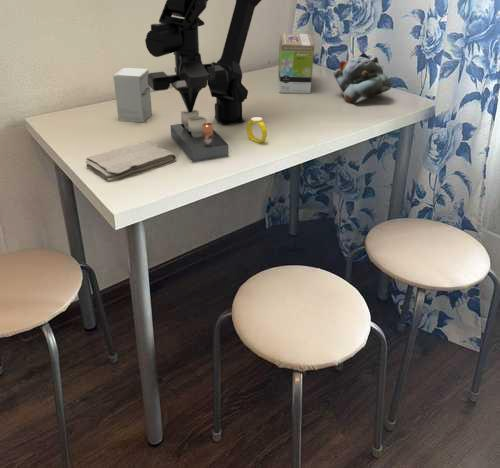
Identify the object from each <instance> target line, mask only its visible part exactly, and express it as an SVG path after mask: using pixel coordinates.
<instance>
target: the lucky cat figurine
mask: <svg viewBox="0 0 500 468" xmlns="http://www.w3.org/2000/svg"><path fill="white" fill-rule="evenodd" d="M333 77H334V79H335V81H336V83H337V84H338V87H339V88H340V90H341V92H342V94H343V96H344V97H343V98H344V100H345V102H346V103H348V104H351V105H356V104H357V103H360V102H363V101H365V100H367V99H369V98H372V97H375V96H379V95H381V94H383V93H385V92H387V91H390V90H391V89H392V83H391V80H390V77H388V76H387V75H385V74H384V72H383V68H382V66H381V65H380V63H379V58H378V57H377V56H372V57H369V56H368V55H367V53H364V52H363V53H361V54H360V55H359V56H355V57H353V58H351V59H349V60H348V61H345V60H342V61H339V65H338V67H337V68H336V70H334V72H333Z"/></svg>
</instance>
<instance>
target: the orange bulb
mask: <svg viewBox="0 0 500 468" xmlns="http://www.w3.org/2000/svg"><path fill="white" fill-rule="evenodd" d="M213 125H214V124H213V123H210V122H206V123H204V124H202V132H203V138H204V140H205V146H211V145H212V144H211V138H213V130H214V126H213Z"/></svg>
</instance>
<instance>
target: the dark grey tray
mask: <svg viewBox="0 0 500 468" xmlns="http://www.w3.org/2000/svg"><path fill="white" fill-rule="evenodd" d="M170 137H171V138H172V139H173V140H174V141H175V143H176V144H177V145H178V147H179V148H180V149H181V150H182V152H183V153H184V154H185V155H186V157H187V158H188V159H189V160H190V161H191V163H197V162H204V161H210V160H213V159H215V160H216V159H220V158H226V157H229V156H230V155H229V143H227V141H225V140H224V138H223V137H221V135H220V134H218V133H217V132H216V131H215V130H214V129H213V138H211V144H212V145H211V146H205V140H204V138H203V136H202V137H195V138H192V134H191V132H190V131H189V130H185V125H184V124H182V123H177V124H170Z"/></svg>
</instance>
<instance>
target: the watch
mask: <svg viewBox="0 0 500 468" xmlns="http://www.w3.org/2000/svg"><path fill="white" fill-rule="evenodd" d="M253 124H258V125H259V126H260V129H261V133H262V136H261V139H259V138H256V137H255V136H254V135H255V134H254V133H253V130H252V127H253V126H252V125H253ZM246 132H247V136H248V138H249V140H250V141H253V142H255V143H258V144H261V143H263V142H265V141H266V139H267V136H268V130H267V127H266V123H264V121H263V118H262V117H260V116H254V117H251V118H250V120H249V121H248V122H247V125H246Z"/></svg>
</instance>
